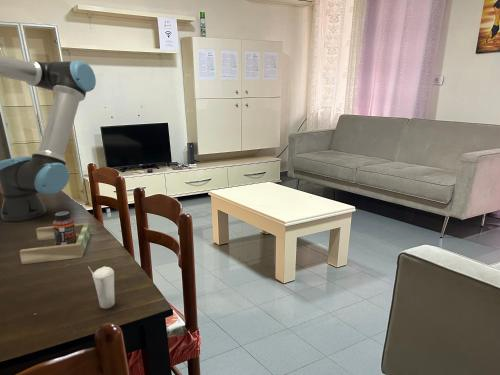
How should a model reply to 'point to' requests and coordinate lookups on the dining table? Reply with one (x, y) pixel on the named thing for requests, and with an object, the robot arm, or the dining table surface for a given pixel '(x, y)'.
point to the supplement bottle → (64, 229)
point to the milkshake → (104, 286)
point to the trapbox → (60, 250)
